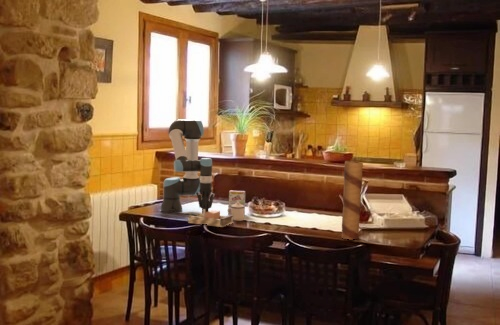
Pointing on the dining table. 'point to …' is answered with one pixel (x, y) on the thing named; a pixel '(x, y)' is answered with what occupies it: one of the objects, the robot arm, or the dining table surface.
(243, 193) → the candy bar box
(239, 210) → the teacup with lid
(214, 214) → the block
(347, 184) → the wafer roll
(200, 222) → the chute
